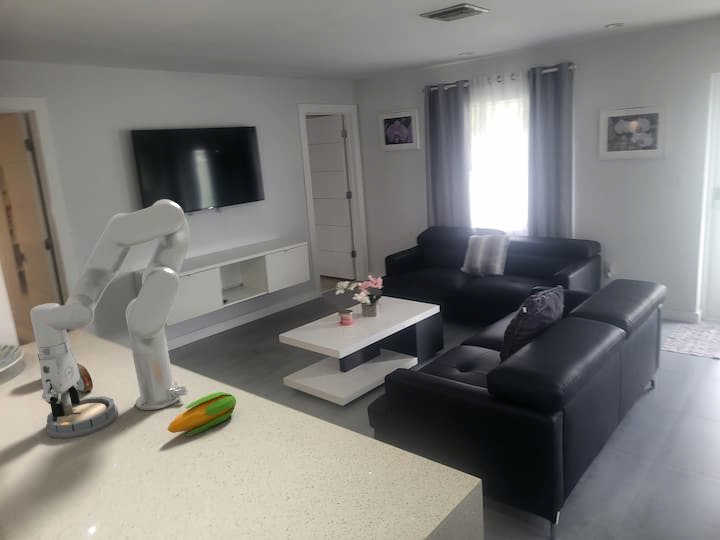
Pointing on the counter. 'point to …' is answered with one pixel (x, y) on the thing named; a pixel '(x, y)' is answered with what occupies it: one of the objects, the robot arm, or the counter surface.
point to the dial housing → (83, 426)
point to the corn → (204, 413)
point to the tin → (84, 379)
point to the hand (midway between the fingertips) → (66, 409)
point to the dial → (78, 410)
